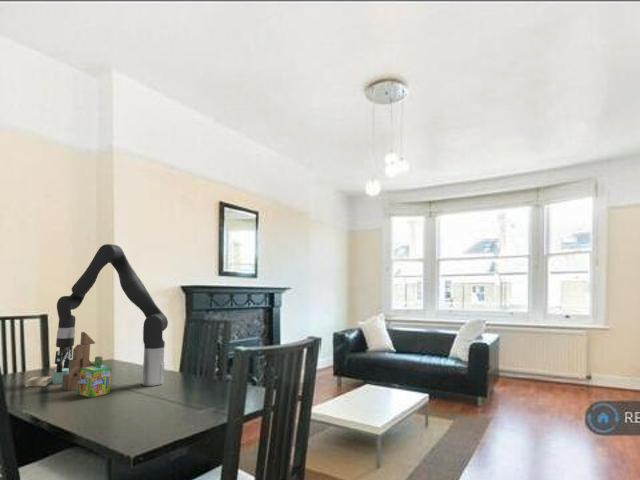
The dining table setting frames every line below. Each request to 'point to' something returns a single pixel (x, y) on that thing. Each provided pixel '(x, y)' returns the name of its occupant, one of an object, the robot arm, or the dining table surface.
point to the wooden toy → (78, 363)
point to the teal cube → (59, 376)
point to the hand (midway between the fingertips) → (62, 370)
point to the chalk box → (95, 380)
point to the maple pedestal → (38, 381)
